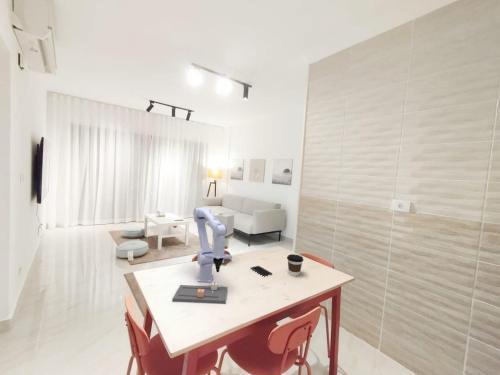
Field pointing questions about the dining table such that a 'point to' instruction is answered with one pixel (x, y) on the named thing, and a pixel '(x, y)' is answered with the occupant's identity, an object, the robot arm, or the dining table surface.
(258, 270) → the phone
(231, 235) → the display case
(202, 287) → the console
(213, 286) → the fader white
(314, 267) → the dining table surface
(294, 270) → the coffee cup
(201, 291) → the fader terracotta
